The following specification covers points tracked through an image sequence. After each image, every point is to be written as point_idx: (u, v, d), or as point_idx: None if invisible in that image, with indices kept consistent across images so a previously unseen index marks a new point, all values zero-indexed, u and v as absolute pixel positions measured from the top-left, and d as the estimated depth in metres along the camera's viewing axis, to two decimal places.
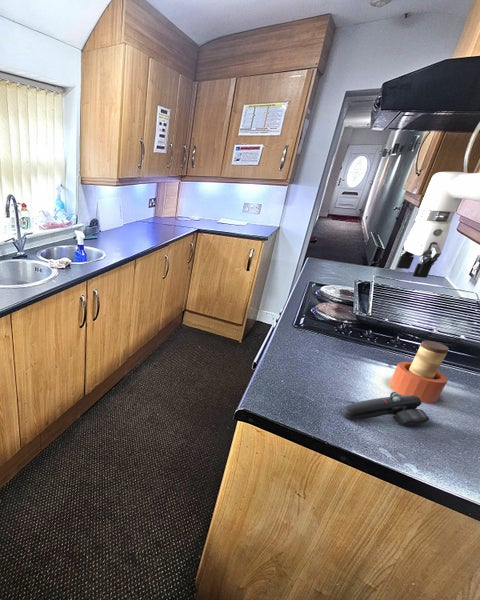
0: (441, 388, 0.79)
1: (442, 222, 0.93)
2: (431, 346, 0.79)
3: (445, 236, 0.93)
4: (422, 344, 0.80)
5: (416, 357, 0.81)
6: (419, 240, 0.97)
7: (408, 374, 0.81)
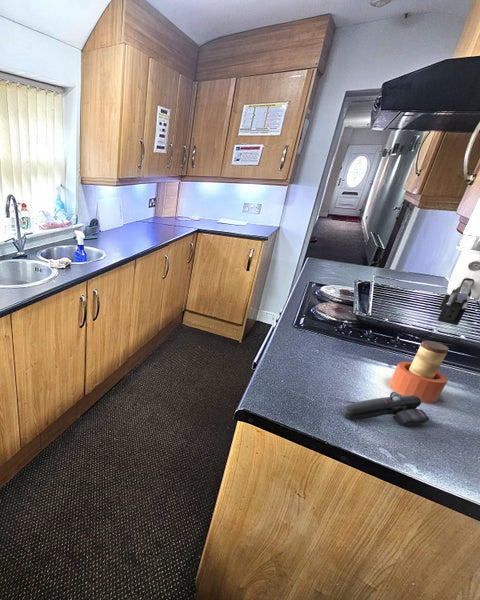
0: (441, 388, 0.79)
1: None
2: (431, 346, 0.79)
3: None
4: (422, 344, 0.80)
5: (416, 357, 0.81)
6: (453, 274, 0.72)
7: (408, 374, 0.81)
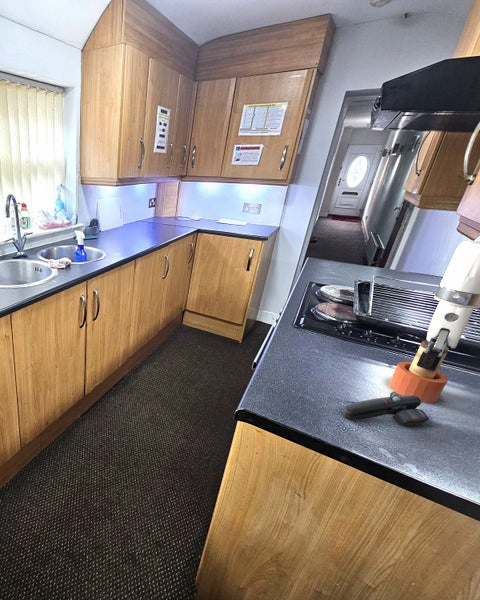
0: (441, 388, 0.79)
1: (460, 305, 0.72)
2: None
3: (462, 323, 0.72)
4: (422, 344, 0.80)
5: (416, 357, 0.81)
6: (432, 322, 0.77)
7: (408, 374, 0.81)
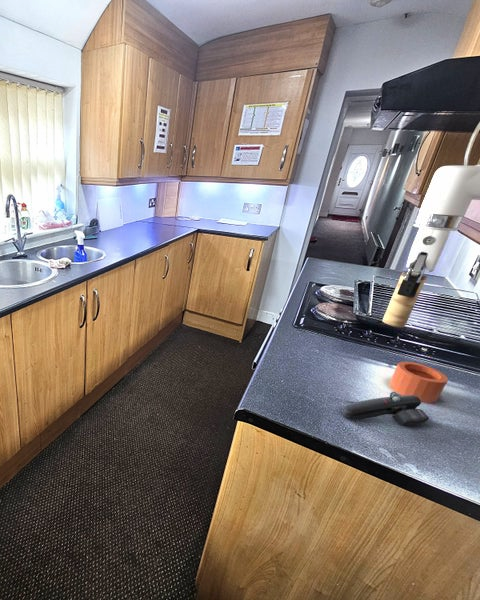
0: (441, 388, 0.79)
1: (438, 228, 0.75)
2: None
3: (439, 246, 0.75)
4: (402, 273, 0.83)
5: (397, 287, 0.84)
6: (411, 249, 0.80)
7: (408, 374, 0.81)
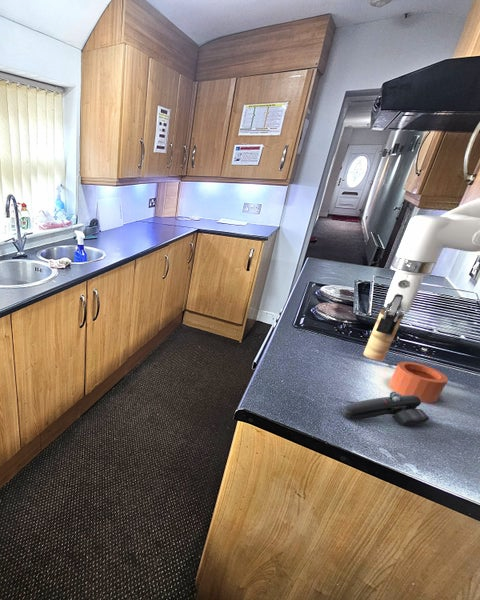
0: (441, 388, 0.79)
1: (412, 273, 0.80)
2: None
3: (413, 289, 0.80)
4: (381, 311, 0.88)
5: (376, 323, 0.90)
6: (388, 290, 0.85)
7: (408, 374, 0.81)
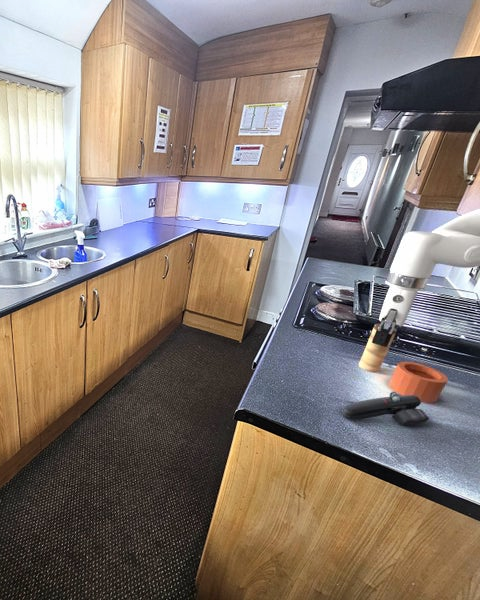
0: (441, 388, 0.79)
1: (406, 288, 0.82)
2: None
3: (407, 304, 0.81)
4: (374, 326, 0.90)
5: (370, 338, 0.91)
6: (383, 304, 0.86)
7: (408, 374, 0.81)
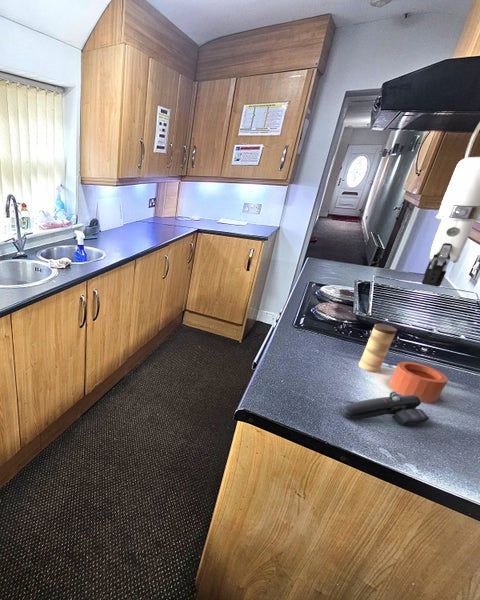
0: (441, 388, 0.79)
1: (461, 219, 0.76)
2: (382, 328, 0.89)
3: (463, 236, 0.75)
4: (374, 326, 0.90)
5: (370, 338, 0.91)
6: (434, 241, 0.80)
7: (408, 374, 0.81)
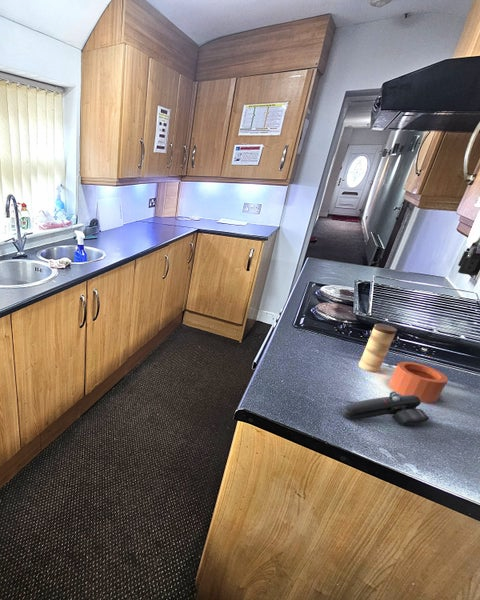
0: (441, 388, 0.79)
1: None
2: (382, 328, 0.89)
3: None
4: (374, 326, 0.90)
5: (370, 338, 0.91)
6: (472, 229, 0.80)
7: (408, 374, 0.81)
